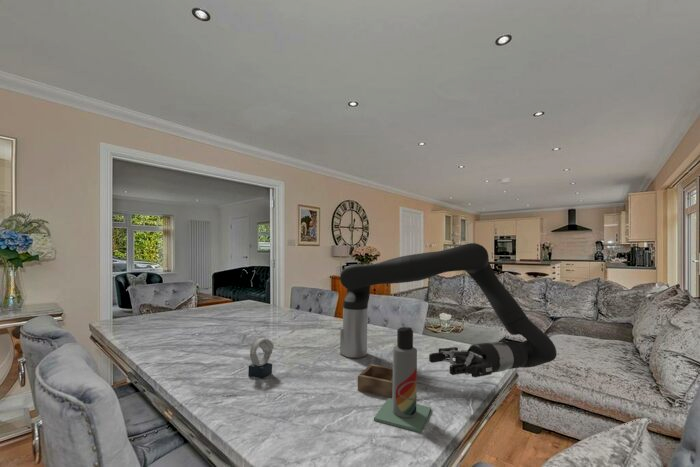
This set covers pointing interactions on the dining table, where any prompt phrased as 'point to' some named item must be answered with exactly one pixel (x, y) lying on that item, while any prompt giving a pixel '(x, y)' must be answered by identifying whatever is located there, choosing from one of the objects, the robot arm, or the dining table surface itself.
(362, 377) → the walnut holder
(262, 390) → the dining table surface
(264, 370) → the watch
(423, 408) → the sage mat
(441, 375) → the dining table surface
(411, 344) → the lotion bottle
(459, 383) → the dining table surface
